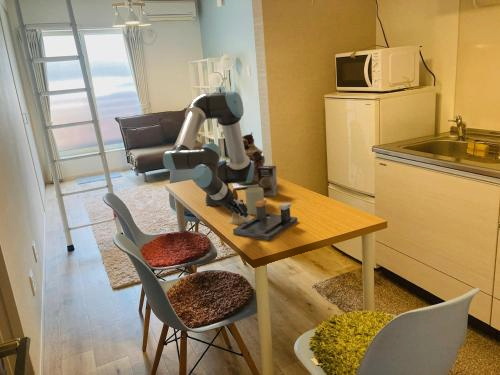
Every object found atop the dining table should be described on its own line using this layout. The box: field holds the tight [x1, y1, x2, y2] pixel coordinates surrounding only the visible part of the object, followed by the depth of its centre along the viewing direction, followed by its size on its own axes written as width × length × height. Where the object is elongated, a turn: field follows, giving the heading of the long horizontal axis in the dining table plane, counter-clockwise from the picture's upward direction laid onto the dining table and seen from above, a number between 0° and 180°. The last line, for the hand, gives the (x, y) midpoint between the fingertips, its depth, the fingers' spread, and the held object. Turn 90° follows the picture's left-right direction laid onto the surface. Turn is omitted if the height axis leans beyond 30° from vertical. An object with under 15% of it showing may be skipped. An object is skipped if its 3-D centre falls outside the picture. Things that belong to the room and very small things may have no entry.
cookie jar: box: [231, 131, 266, 189], centre depth 249 cm, size 25×25×32 cm
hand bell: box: [228, 188, 247, 226], centre depth 186 cm, size 8×8×16 cm
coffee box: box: [258, 165, 278, 197], centre depth 225 cm, size 9×6×16 cm
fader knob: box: [255, 199, 268, 221], centre depth 183 cm, size 3×5×9 cm
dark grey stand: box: [232, 202, 298, 242], centre depth 177 cm, size 18×24×10 cm
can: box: [244, 187, 265, 216], centre depth 199 cm, size 9×9×12 cm
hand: (247, 218), depth 175 cm, fingers closed
